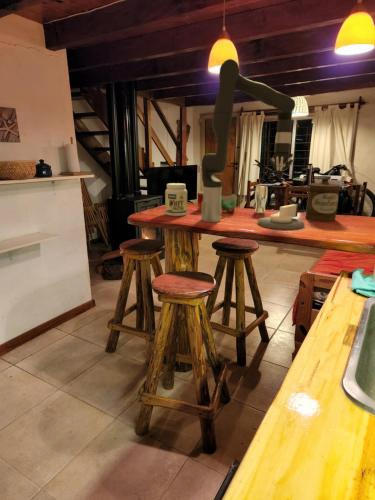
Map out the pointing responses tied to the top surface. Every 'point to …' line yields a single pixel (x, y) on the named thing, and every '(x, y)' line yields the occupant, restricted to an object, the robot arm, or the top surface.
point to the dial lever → (285, 214)
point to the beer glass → (260, 198)
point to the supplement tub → (176, 199)
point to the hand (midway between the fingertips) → (279, 178)
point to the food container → (228, 203)
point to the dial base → (281, 224)
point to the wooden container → (322, 201)
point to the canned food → (200, 200)
